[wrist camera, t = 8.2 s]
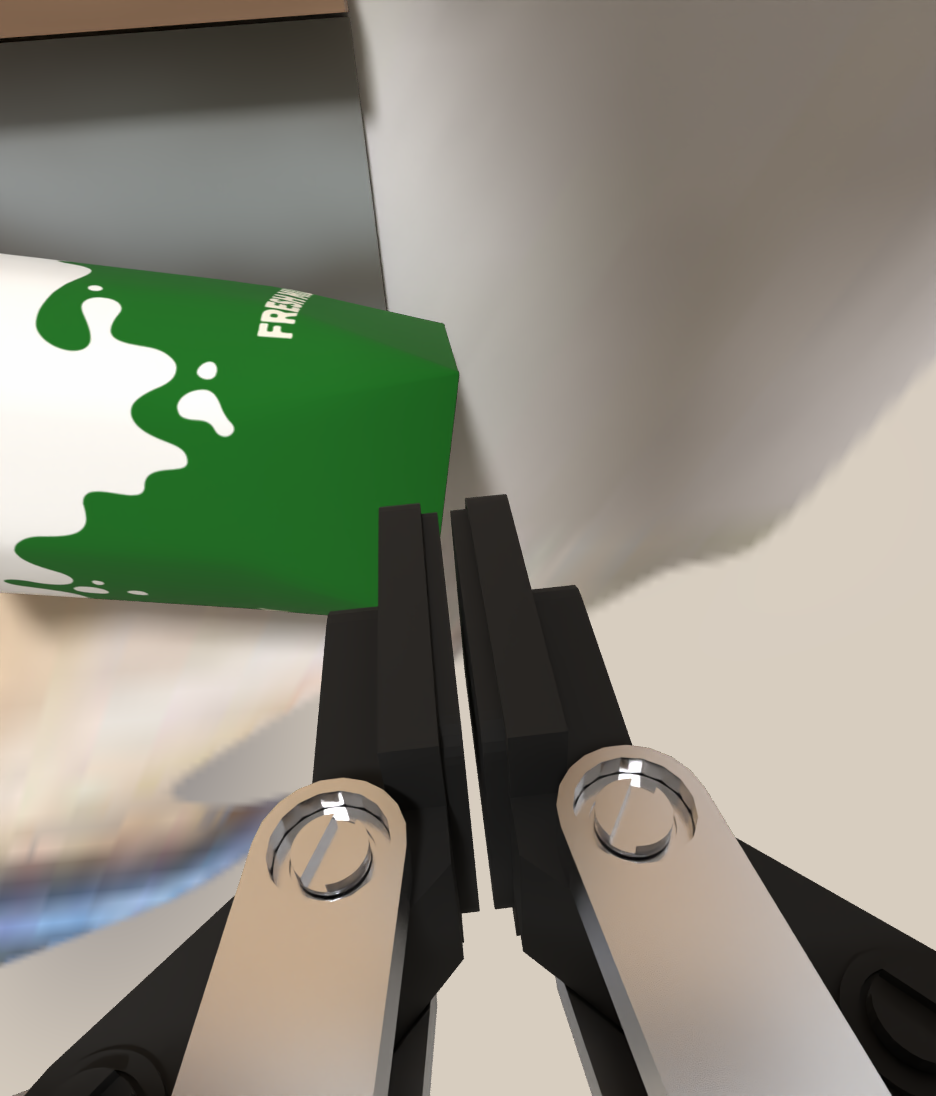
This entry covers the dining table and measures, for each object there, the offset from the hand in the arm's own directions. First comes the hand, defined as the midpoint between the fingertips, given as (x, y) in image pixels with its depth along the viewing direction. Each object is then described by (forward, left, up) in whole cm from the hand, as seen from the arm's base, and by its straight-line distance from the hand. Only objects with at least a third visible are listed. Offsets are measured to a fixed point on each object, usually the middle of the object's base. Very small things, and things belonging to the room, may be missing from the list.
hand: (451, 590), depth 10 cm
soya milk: (+5, 0, -12) cm, 13 cm away
